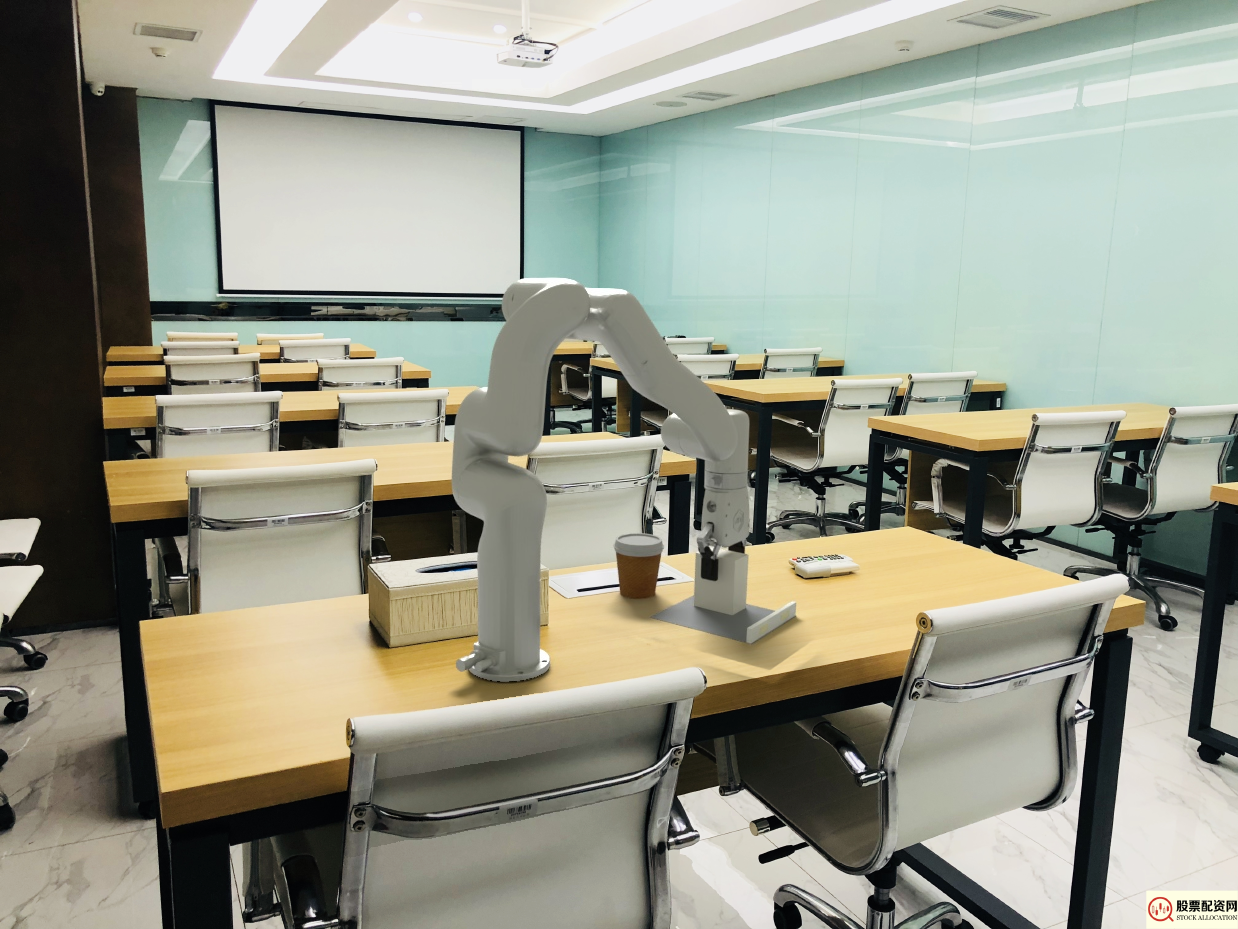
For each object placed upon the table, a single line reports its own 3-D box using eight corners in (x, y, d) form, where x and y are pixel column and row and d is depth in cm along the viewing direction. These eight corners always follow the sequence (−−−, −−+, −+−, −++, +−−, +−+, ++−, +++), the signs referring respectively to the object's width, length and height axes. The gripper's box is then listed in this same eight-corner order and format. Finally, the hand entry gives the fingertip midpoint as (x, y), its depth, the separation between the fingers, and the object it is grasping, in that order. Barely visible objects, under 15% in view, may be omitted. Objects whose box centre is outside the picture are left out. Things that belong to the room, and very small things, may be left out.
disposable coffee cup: (643, 612, 168) (644, 549, 166) (601, 601, 174) (603, 539, 172) (672, 599, 176) (674, 538, 174) (632, 589, 181) (633, 529, 179)
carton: (732, 615, 164) (735, 560, 162) (693, 605, 168) (695, 552, 166) (747, 607, 168) (749, 554, 166) (708, 598, 173) (710, 546, 171)
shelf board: (751, 652, 151) (752, 629, 150) (649, 625, 162) (649, 603, 161) (796, 623, 164) (797, 602, 164) (698, 600, 176) (699, 580, 175)
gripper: (720, 491, 155) (717, 589, 158) (767, 474, 168) (763, 564, 172) (681, 485, 159) (679, 581, 162) (730, 469, 173) (727, 557, 176)
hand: (722, 572), depth 167 cm, fingers open, 9 cm apart
